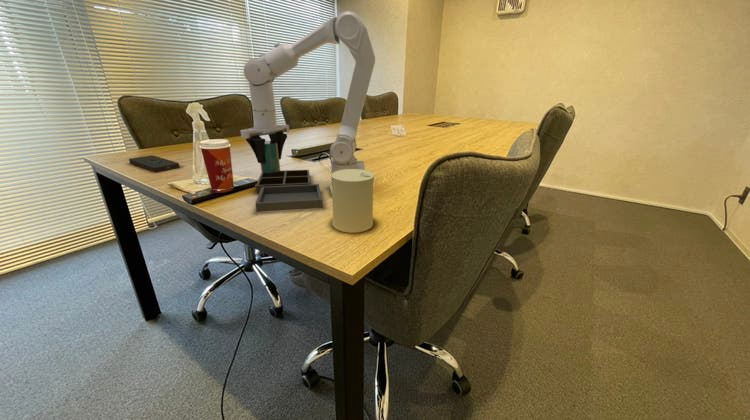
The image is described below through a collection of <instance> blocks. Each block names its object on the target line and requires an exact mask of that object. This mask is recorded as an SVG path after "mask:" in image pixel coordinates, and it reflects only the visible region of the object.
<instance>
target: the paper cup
mask: <svg viewBox="0 0 750 420" xmlns="http://www.w3.org/2000/svg"><path fill="white" fill-rule="evenodd" d="M231 146H232V145H231V143H230V141H229V140H228V139H225V138H223V139H222V138H213V139H204V140H201V141H200V142H199V145H198V148H199V149H200V150H201V155H202V158H203V162H204V165H205V170H206V173H207V178H208V181H209V184H210V188H211V191H212V193H215V194H217V193H218V194H221V193H228V192H231V191H233V190H234V189H235V186H234V185H235V184H234V183H235V182H234V175H233V165H232V164H233V163H232V154H231ZM233 186H234V187H233ZM231 187H233V188H231ZM228 188H231V189H228ZM212 189H228V190H221V191H217V190H212Z"/></svg>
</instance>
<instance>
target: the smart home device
mask: <svg viewBox="0 0 750 420" xmlns="http://www.w3.org/2000/svg"><path fill="white" fill-rule="evenodd" d="M128 161H129V164H130V165H133V166H136V167H139V168H140V169H141V168H142V169H145V170H147V171H150V172H153V173H160V172H161V173H162V172H167V171H170V170H175V169H180V168H181V167H180V163H179V162H178V161H174V160H170V159H166V158H164V157H160V156H157V155H154V154H153V155H152V154H151V155H145V156H144V155H143V156H138V157H133V158H128Z"/></svg>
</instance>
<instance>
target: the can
mask: <svg viewBox="0 0 750 420" xmlns="http://www.w3.org/2000/svg"><path fill="white" fill-rule="evenodd" d="M330 177H331V186H332V194H331V197H332V223H331V224H332V226H333V228H334V229H335V230H337V231H339V232H342V233H348V234H350V233H351V234H356V233H362V232H367V231H369V230H370V229H371V228H372V227H373V226H374V219H373V217H374V214H373V213H374V212H373V211H374V181H375V173H373V172H372V171H369V170H366V169H365V170H360V169H344V170H339V171H335V172H333V173H332V172H331V174H330Z"/></svg>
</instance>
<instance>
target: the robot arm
mask: <svg viewBox="0 0 750 420" xmlns="http://www.w3.org/2000/svg"><path fill="white" fill-rule="evenodd" d="M369 35H370V34H369V32H368V29H367V27H366V26H365V24H364V22H363V21H362V19H361V18H360V16H359V15H358V14H357V13H355V12H353V11H346V10H345V11H343V12H341V13H340V14H339V15H338V16H333V17H330V18H329V19H328V20H326V21H324V22H323V23H322V24H320V25H319V26H317V27H316V28H314V29H313V30H311V31H310V32H309V33H307V34H305V35H304V36H302V37H301V38H299V39H298V40H297V41H295V42H294V43H292V44H289V43H286V42H282V43H280V42H277V43H274V48H273V49H270V50H269V51H268V52H265V53H260V54H259V55H258V58H249V59H248V61H247V62H246V63H245V64H244V66H243V75H244V77H245V79H246V80H247V82H248V85H249V93H250V101H251V108H252V117H253V123H254V124H253V125H254V126H253V127H250V128H245V129H240V137H241V138H242V139H245V141H246V142H247V143H248V145H249V146H250V148H251V150H252V152H253V154H254V156H255V158H256V161H257V163H258V164H260V163H262V164H263V163H265V154H264V146H265V141H266V138H262V136H268V137H269V141H276V142H277V143H278V152H279V161H280V160H281V159H282V154H283V150H284V145H285V143H286V140H287V139H288V133H290V125H289V124H278V123H277V112H276V103H275V94H274V85H273V82H274V81H275V79H278V78H279V77H281V76H283V75H284V74H286V73H288V72H289V71H291V70H292V69H295V67H297V66H298V64H299V60H300V58H302V57H303V56H305V55H308V54H309V53H312V52H313V51H315V50H317V49H319V48H320V47H322V46H324V45H326V44H332V45H333V44H334V45H340V44H341V43H343V44H344V45H345V46H346V48H348V50H349V52H350V55H351V56H352V57H353V59H354V62H355V64H354V68H353V72H352V77H351V81H350V84H349V89H348V92H347V93H348V94H347V97H346V101H345V105H344V110H343V113H342V118H341V122H340V126H339V130H338V132H337V135H336V139H335V140H334V142H332V144H331V146H330V149H329V155H330V157H331V159H330V164H331V166H330V168H331V169H330V171H331V174H332V173H333V172H335V171H339V170H344V169H360V170H366V165H365V162H364V161H363V160H358V158H356V155H354V154H355V152H356V150H357V141H356V137H357V134H358V128H359V125H360V122H361V121H360V120H361V117H362V113H363V111H364V110H363V109H364V106H365V102H366V98H367V94H368V91H369V87H370V83H371V79H372V75H373V71H374V68H375V64H376V55H375V52H374V49H373V45H372V42H371V39H370V36H369ZM340 41H341V43H340ZM329 190H330V193H331V195H332V185H329Z"/></svg>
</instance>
